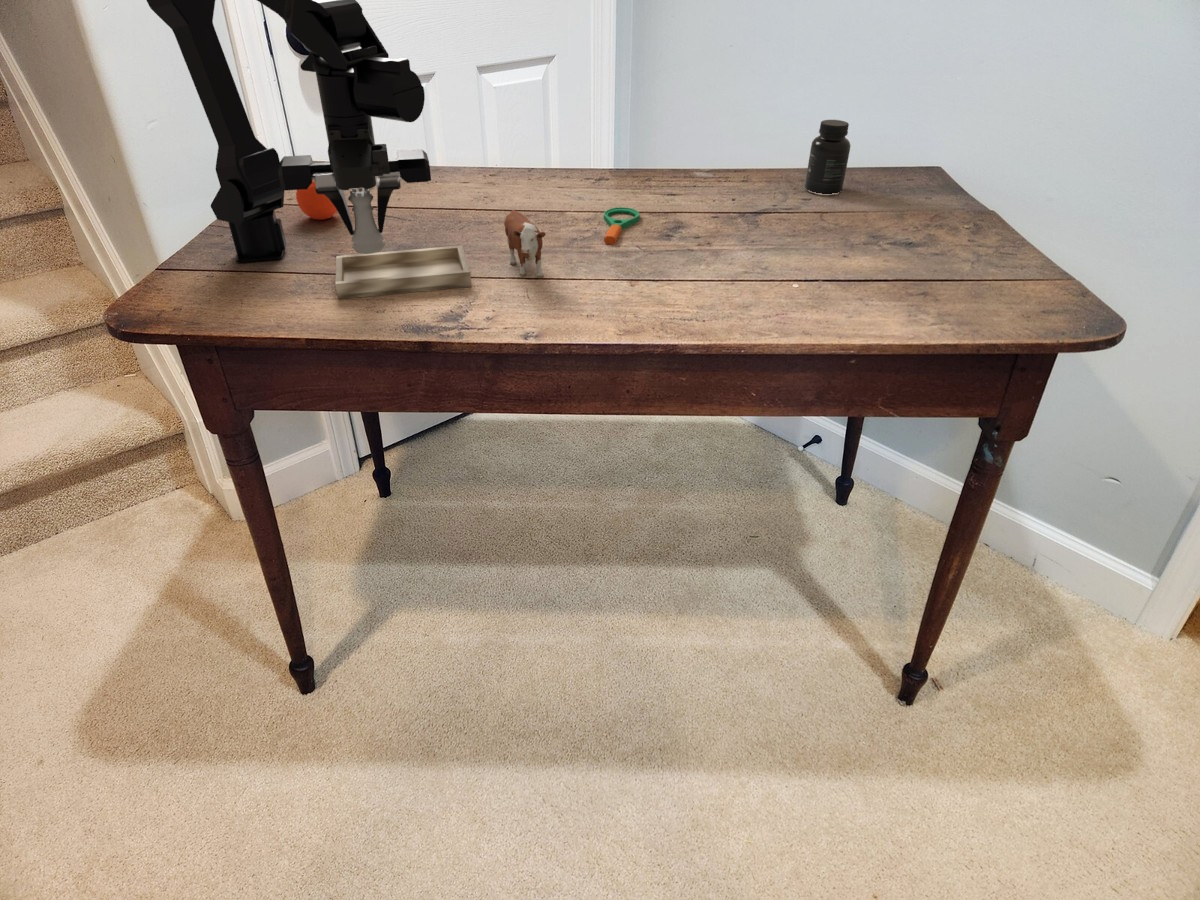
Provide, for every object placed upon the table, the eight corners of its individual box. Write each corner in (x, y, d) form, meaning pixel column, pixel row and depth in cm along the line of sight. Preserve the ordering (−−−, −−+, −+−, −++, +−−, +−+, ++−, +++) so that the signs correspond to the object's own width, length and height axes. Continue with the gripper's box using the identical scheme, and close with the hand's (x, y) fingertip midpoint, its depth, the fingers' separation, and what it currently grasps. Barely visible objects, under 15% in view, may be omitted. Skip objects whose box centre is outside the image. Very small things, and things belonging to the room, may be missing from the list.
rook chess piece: (381, 255, 107) (372, 196, 103) (348, 254, 107) (338, 195, 103) (388, 242, 111) (380, 185, 106) (357, 242, 111) (347, 185, 106)
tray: (338, 299, 107) (335, 284, 106) (339, 270, 115) (336, 255, 114) (471, 286, 111) (470, 271, 109) (463, 259, 119) (462, 245, 117)
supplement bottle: (800, 184, 150) (811, 117, 143) (837, 185, 150) (849, 118, 143) (808, 196, 144) (819, 127, 137) (845, 196, 144) (859, 127, 137)
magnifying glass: (607, 213, 137) (607, 203, 136) (641, 215, 136) (642, 205, 135) (590, 245, 125) (590, 234, 124) (628, 248, 124) (628, 237, 123)
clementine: (293, 228, 129) (284, 184, 124) (294, 213, 134) (285, 171, 130) (344, 223, 130) (336, 180, 126) (343, 209, 136) (335, 167, 132)
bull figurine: (520, 290, 110) (517, 233, 105) (503, 254, 120) (500, 201, 116) (551, 287, 111) (549, 231, 106) (531, 251, 121) (529, 199, 117)
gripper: (262, 132, 91) (291, 261, 100) (427, 124, 94) (440, 249, 104) (270, 109, 99) (296, 230, 108) (420, 103, 103) (433, 220, 112)
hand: (366, 233), depth 108 cm, fingers closed on rook chess piece, 3 cm apart
